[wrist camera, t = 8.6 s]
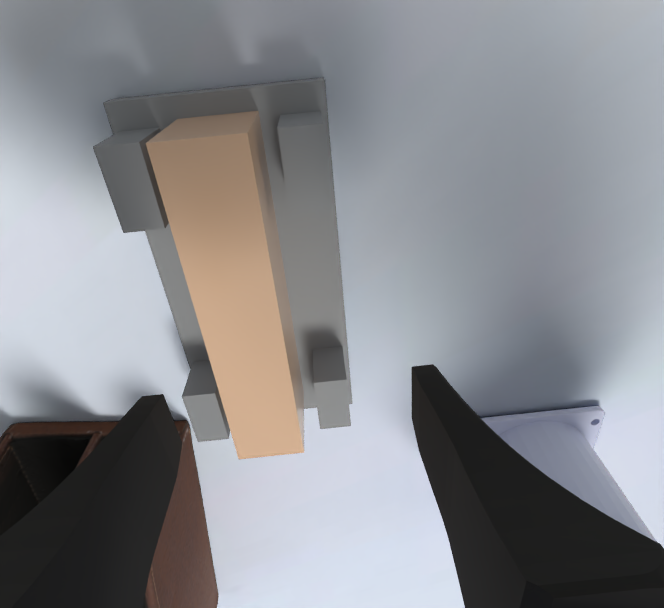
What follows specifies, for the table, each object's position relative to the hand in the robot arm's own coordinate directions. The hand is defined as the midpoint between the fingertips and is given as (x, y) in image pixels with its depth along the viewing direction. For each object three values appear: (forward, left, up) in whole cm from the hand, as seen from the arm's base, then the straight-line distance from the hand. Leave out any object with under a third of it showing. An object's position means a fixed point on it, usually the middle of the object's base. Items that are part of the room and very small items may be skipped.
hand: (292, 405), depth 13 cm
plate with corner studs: (0, +2, -9) cm, 10 cm away
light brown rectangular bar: (0, +2, -8) cm, 9 cm away
